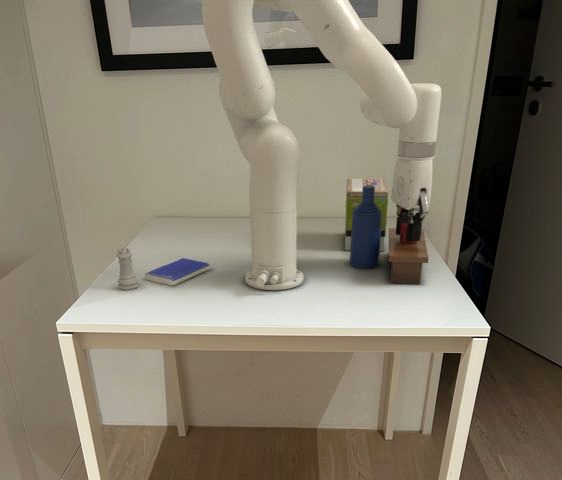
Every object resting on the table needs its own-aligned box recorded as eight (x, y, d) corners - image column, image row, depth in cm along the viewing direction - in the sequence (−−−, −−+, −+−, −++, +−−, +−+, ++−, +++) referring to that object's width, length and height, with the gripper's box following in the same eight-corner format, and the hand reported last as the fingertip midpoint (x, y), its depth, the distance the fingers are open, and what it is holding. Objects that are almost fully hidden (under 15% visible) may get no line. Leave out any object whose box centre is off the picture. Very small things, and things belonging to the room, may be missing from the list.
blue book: (173, 279, 123) (209, 263, 132) (144, 272, 126) (182, 257, 136) (173, 286, 123) (210, 269, 132) (145, 279, 127) (182, 263, 136)
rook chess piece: (144, 285, 124) (139, 249, 120) (128, 292, 121) (122, 254, 117) (129, 281, 126) (124, 245, 122) (113, 287, 123) (107, 251, 119)
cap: (417, 239, 130) (419, 222, 128) (416, 244, 127) (417, 227, 125) (400, 238, 131) (401, 222, 129) (398, 243, 128) (400, 226, 126)
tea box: (344, 234, 157) (346, 177, 150) (381, 234, 156) (386, 177, 149) (344, 251, 144) (346, 189, 136) (385, 251, 143) (390, 190, 136)
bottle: (378, 269, 132) (384, 190, 123) (348, 268, 133) (352, 189, 124) (378, 260, 137) (384, 183, 129) (350, 259, 138) (354, 183, 130)
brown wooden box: (425, 286, 122) (428, 257, 119) (386, 284, 123) (388, 256, 120) (420, 254, 141) (423, 229, 138) (387, 253, 142) (389, 227, 139)
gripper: (383, 145, 126) (377, 229, 135) (417, 157, 112) (408, 250, 121) (415, 144, 128) (407, 226, 136) (453, 155, 113) (441, 247, 122)
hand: (407, 236), depth 128 cm, fingers open, 4 cm apart
